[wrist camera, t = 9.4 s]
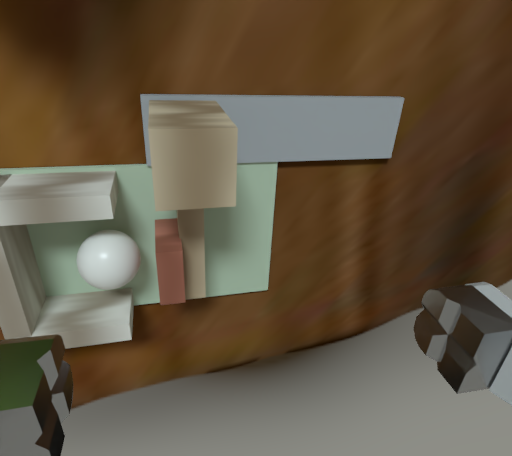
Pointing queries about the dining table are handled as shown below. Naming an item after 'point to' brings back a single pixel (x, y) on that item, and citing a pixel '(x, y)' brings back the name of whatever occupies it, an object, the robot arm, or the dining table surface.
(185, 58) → the dining table surface
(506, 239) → the dining table surface
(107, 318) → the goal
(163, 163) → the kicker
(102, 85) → the dining table surface
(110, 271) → the ball
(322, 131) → the board
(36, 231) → the mat
